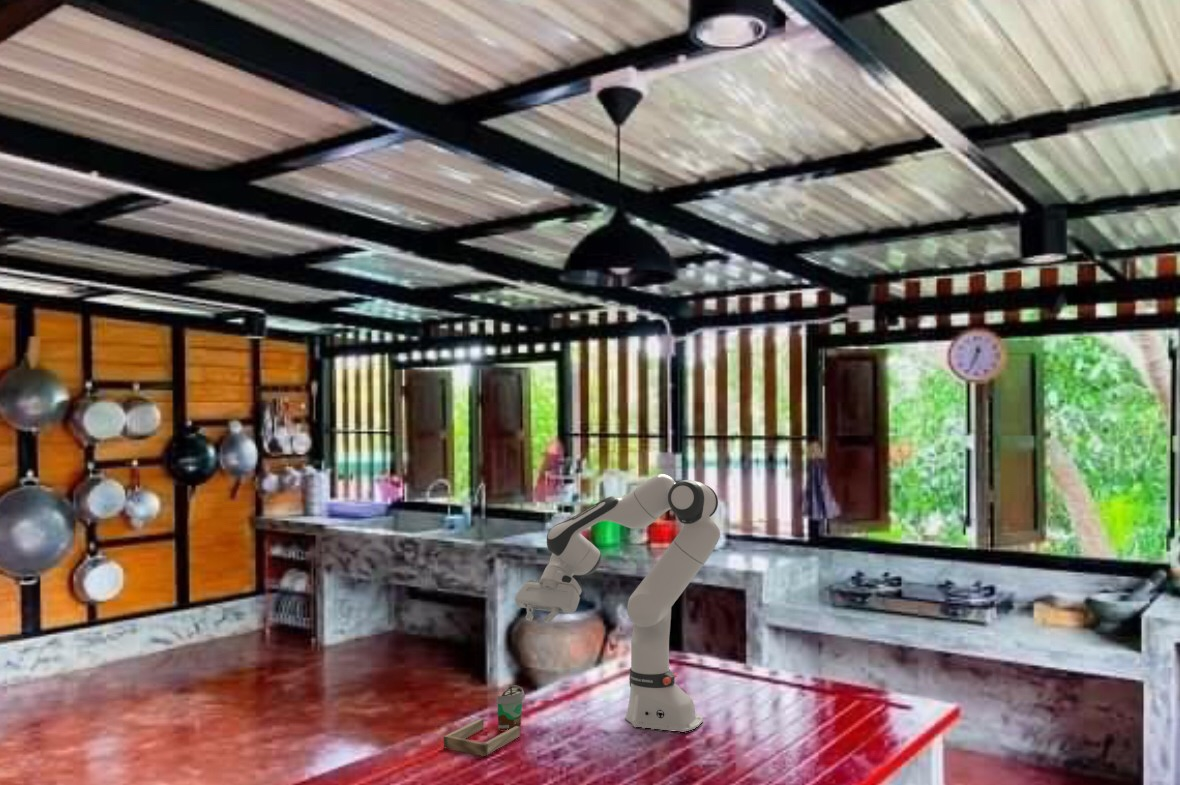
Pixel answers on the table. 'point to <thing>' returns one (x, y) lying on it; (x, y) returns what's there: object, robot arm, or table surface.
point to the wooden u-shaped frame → (462, 744)
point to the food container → (510, 707)
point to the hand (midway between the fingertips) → (537, 620)
